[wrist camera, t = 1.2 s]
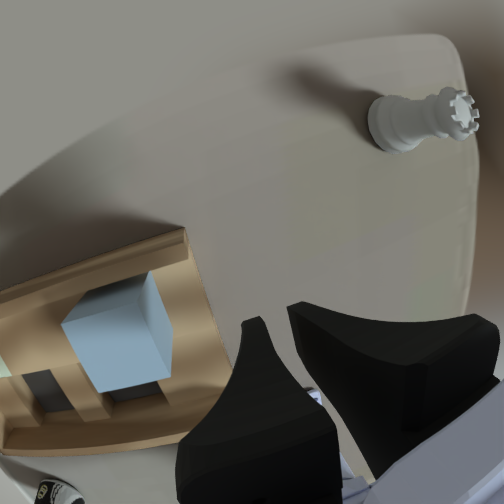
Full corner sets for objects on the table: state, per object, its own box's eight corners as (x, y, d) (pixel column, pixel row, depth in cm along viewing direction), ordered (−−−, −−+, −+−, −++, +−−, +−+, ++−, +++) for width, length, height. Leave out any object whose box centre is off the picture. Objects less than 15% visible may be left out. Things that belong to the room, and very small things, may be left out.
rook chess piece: (410, 157, 21) (489, 157, 13) (364, 150, 20) (444, 142, 12) (408, 104, 20) (484, 87, 12) (362, 91, 19) (437, 63, 11)
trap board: (236, 379, 22) (249, 423, 17) (19, 421, 19) (3, 455, 14) (184, 227, 19) (183, 242, 14) (-45, 309, 16) (-77, 333, 11)
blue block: (173, 329, 18) (170, 377, 13) (115, 345, 17) (98, 393, 13) (150, 268, 17) (136, 301, 12) (89, 287, 16) (60, 324, 11)
